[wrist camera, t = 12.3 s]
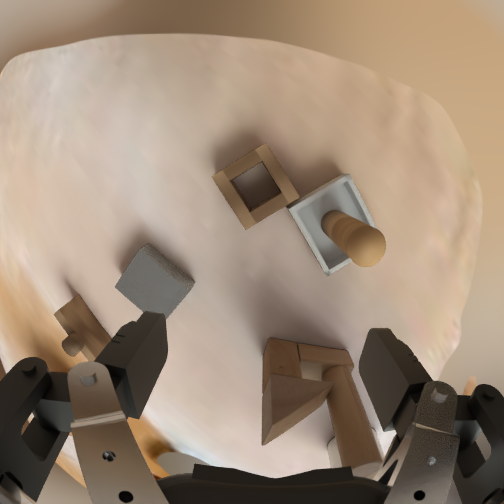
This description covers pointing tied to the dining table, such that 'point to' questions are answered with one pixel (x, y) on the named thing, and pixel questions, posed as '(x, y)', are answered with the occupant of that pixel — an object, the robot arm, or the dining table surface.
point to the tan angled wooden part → (317, 399)
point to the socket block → (236, 199)
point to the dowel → (354, 237)
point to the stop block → (81, 330)
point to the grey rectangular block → (154, 282)
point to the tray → (313, 209)
